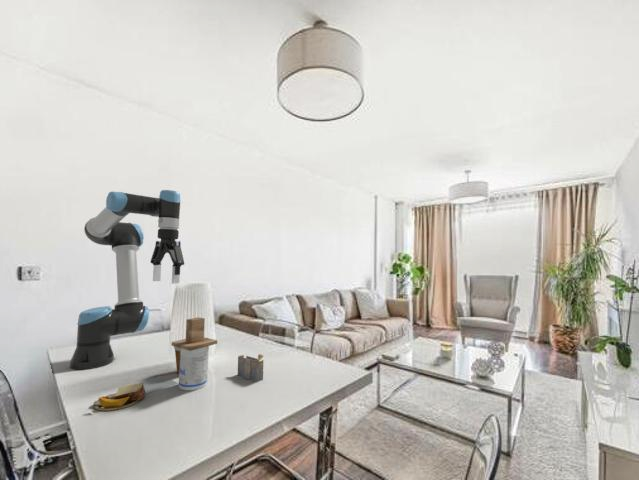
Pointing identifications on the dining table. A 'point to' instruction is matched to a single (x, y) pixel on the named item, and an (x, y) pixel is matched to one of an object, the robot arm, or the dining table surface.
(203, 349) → the supplement tub
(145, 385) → the grey square tile
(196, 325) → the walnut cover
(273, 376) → the dining table surface
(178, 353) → the disposable coffee cup
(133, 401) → the toy sandwich meal
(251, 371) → the ruin model on sheet
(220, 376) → the dining table surface
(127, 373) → the dining table surface
